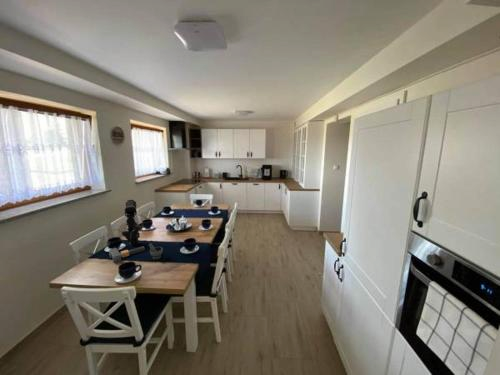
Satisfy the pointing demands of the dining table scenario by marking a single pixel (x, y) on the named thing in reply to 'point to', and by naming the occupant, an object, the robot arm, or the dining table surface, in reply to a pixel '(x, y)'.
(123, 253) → the plug
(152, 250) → the mortar and pestle
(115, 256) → the housing
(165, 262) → the dining table surface
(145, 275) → the dining table surface
